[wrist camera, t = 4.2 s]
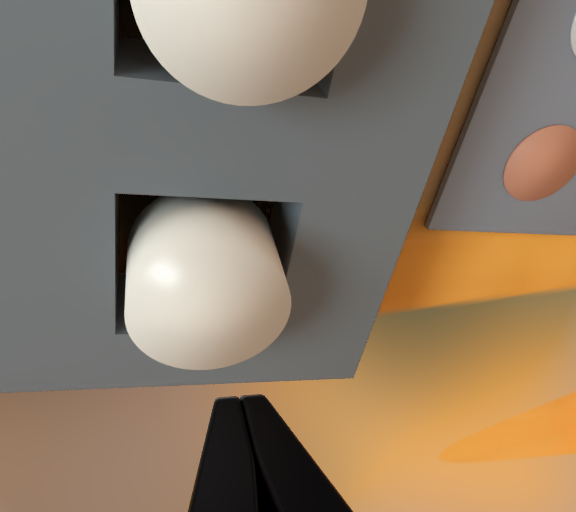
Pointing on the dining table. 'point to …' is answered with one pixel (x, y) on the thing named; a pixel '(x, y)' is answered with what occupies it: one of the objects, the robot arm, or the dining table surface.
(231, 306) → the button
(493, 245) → the dining table surface
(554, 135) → the pattern card
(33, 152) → the button board
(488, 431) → the dining table surface
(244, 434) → the robot arm
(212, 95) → the button middle
